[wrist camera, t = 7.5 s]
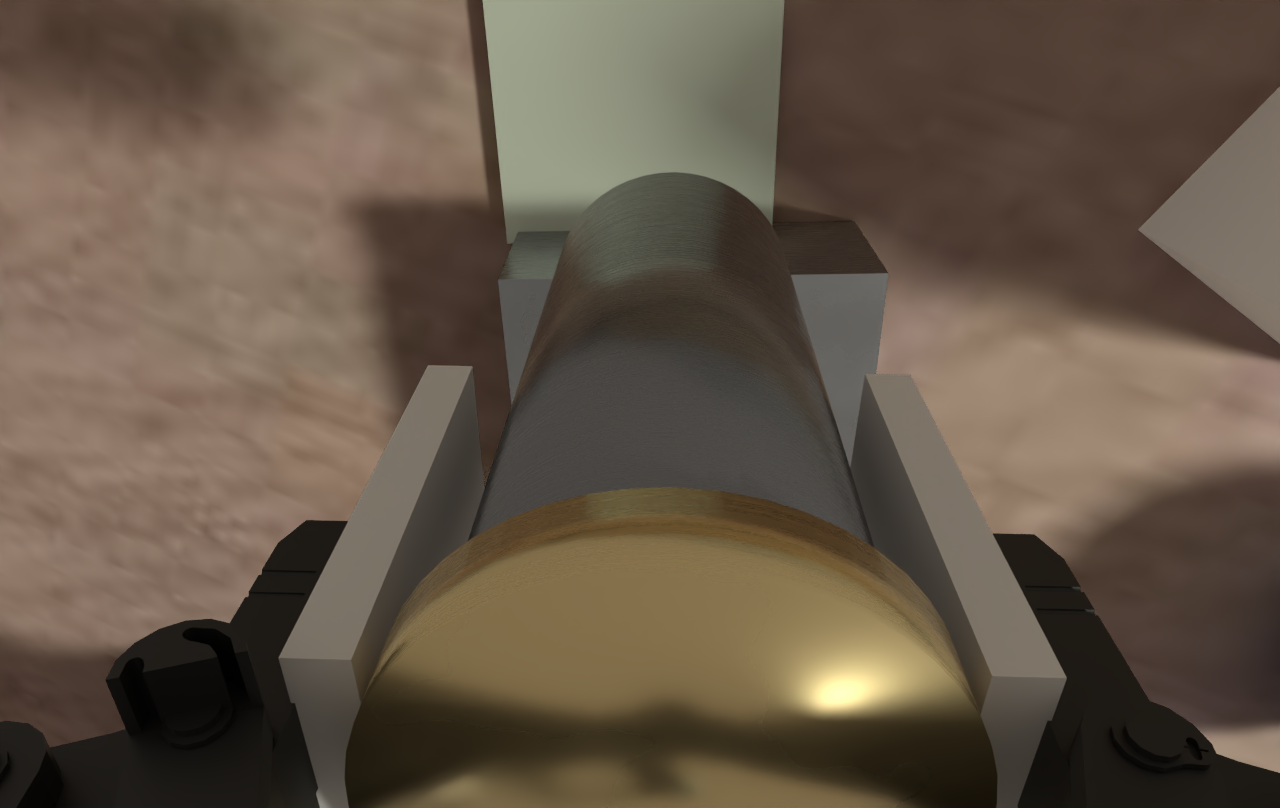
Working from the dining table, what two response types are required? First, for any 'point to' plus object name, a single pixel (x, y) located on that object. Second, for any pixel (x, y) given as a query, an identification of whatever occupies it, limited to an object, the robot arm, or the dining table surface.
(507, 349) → the housing
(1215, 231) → the milk
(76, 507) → the dining table surface
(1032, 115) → the dining table surface
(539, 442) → the grey and gold cylinder
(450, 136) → the dining table surface
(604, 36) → the mat
